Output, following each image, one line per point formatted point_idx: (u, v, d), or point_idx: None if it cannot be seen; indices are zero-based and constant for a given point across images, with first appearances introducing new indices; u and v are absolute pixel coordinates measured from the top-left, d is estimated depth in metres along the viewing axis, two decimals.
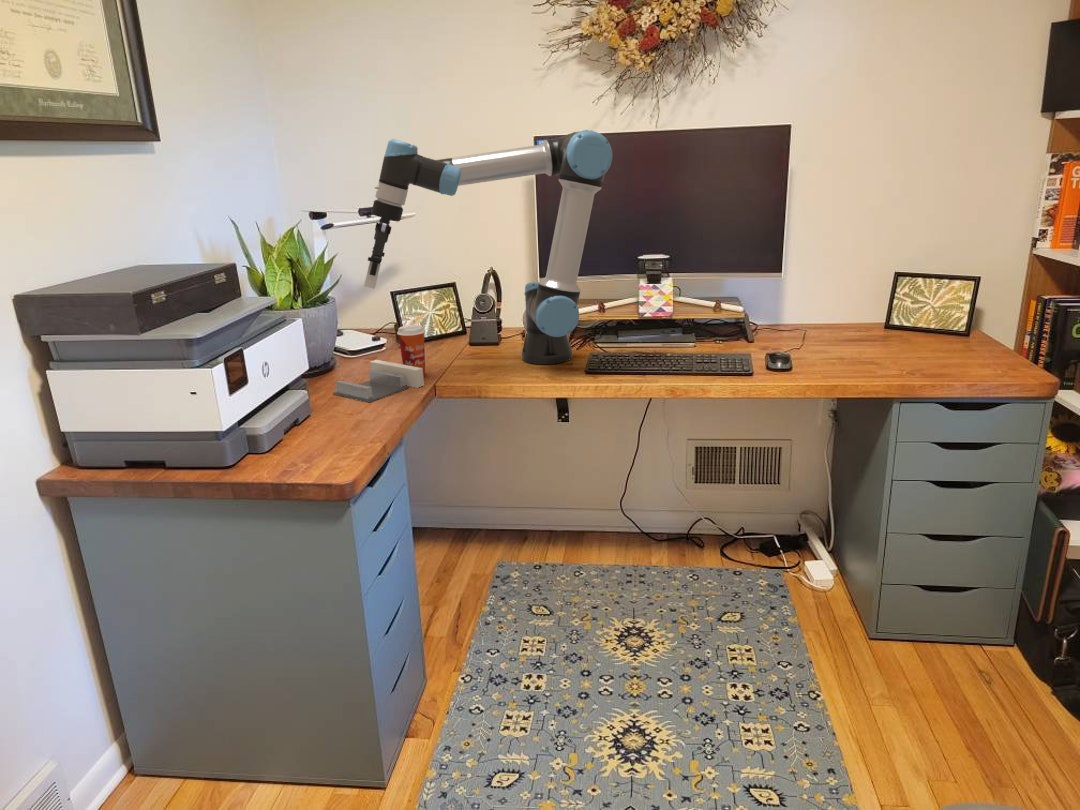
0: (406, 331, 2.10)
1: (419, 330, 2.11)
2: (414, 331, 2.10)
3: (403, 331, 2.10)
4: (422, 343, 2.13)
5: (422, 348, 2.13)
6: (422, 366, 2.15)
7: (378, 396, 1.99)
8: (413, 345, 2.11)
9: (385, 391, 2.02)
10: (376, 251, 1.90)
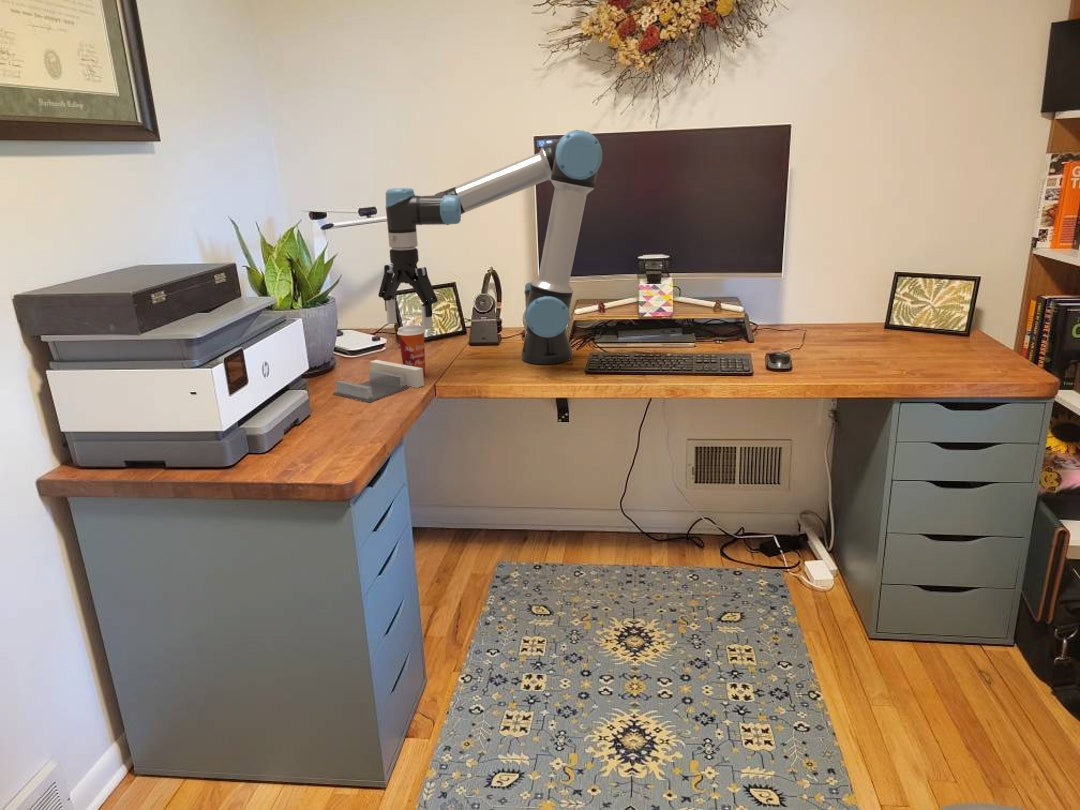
0: (406, 331, 2.10)
1: (419, 330, 2.11)
2: (414, 331, 2.10)
3: (403, 331, 2.10)
4: (422, 343, 2.13)
5: (422, 348, 2.13)
6: (422, 366, 2.15)
7: (378, 396, 1.99)
8: (413, 345, 2.11)
9: (385, 391, 2.02)
10: (431, 294, 2.04)
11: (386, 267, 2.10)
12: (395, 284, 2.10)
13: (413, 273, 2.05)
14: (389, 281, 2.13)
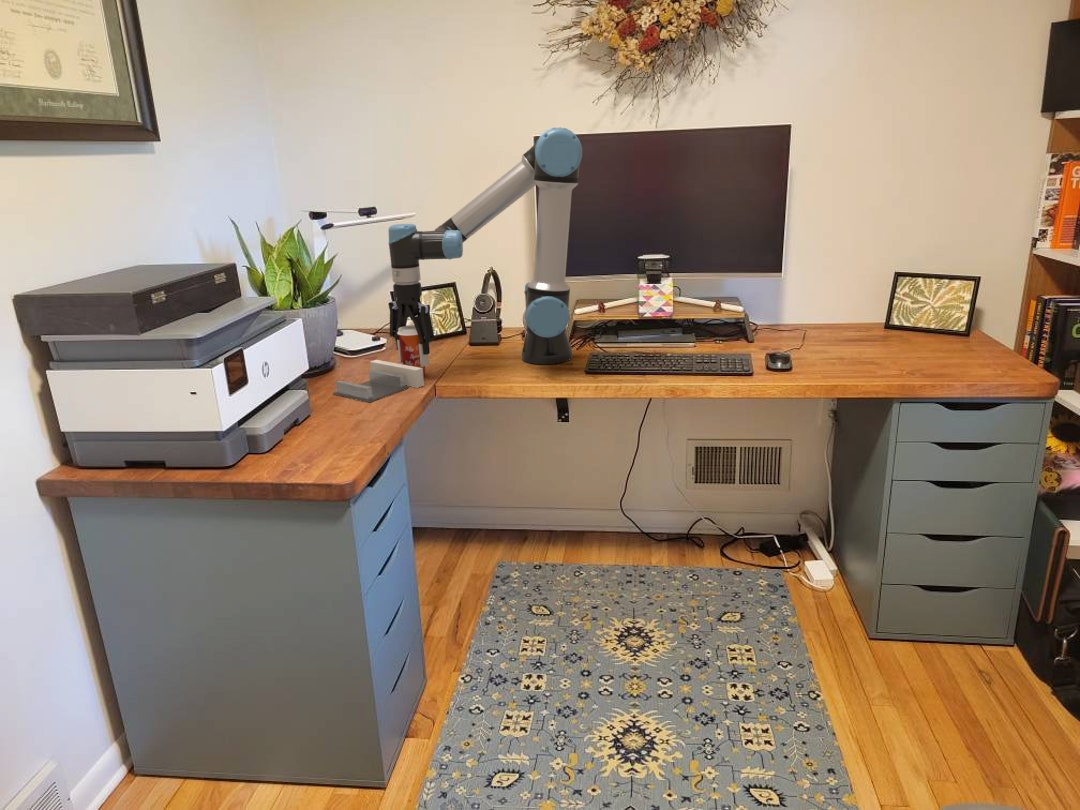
0: (406, 331, 2.10)
1: None
2: (414, 331, 2.10)
3: (403, 331, 2.10)
4: None
5: None
6: None
7: (378, 396, 1.99)
8: (413, 345, 2.11)
9: (385, 391, 2.02)
10: (429, 333, 2.09)
11: (390, 304, 2.13)
12: (402, 320, 2.13)
13: (416, 308, 2.08)
14: (396, 318, 2.15)
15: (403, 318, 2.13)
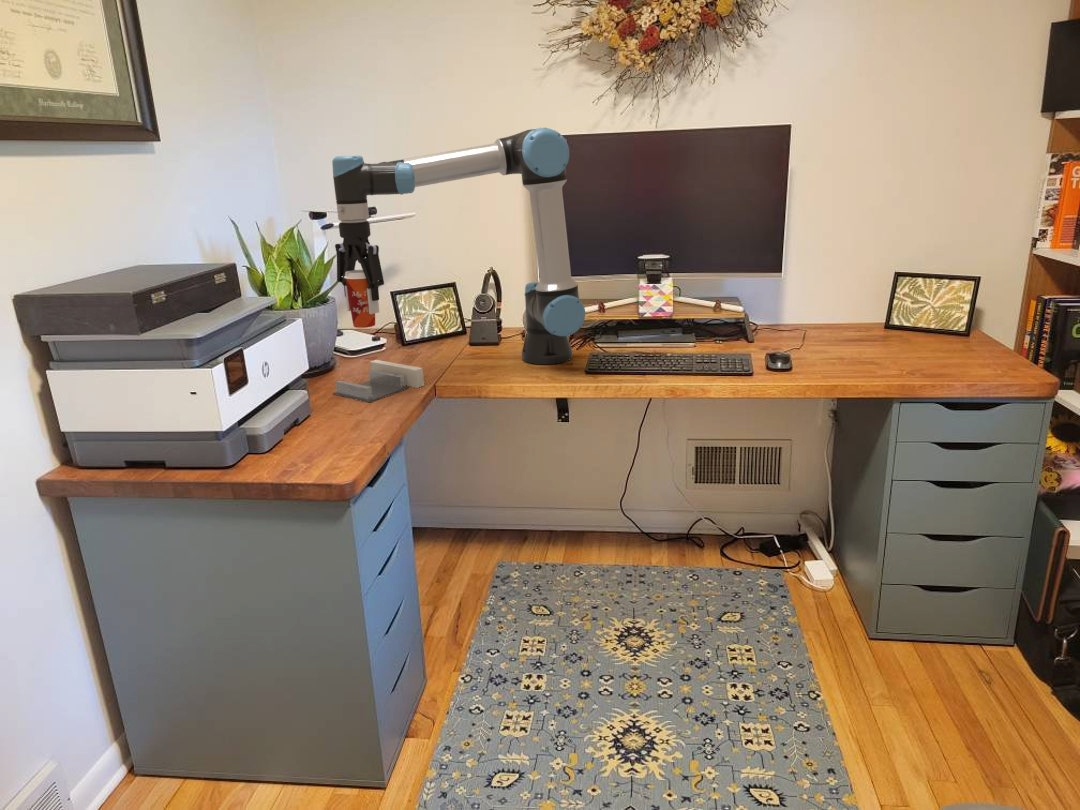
0: (353, 274, 1.92)
1: None
2: (362, 274, 1.92)
3: (350, 274, 1.92)
4: None
5: None
6: (371, 314, 1.97)
7: (378, 396, 1.99)
8: (361, 290, 1.93)
9: (385, 391, 2.02)
10: (378, 276, 1.91)
11: (337, 246, 1.95)
12: (350, 263, 1.95)
13: (363, 248, 1.90)
14: (344, 261, 1.98)
15: (351, 261, 1.95)
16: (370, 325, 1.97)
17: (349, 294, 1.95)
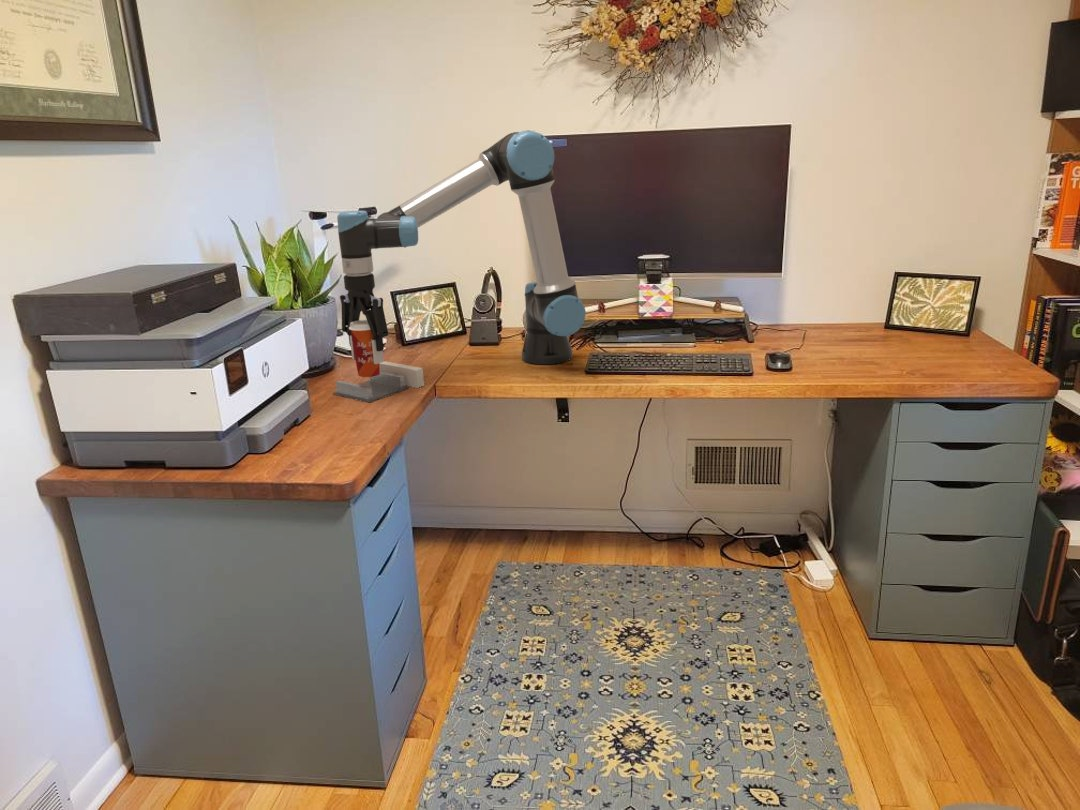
0: (358, 325, 1.95)
1: None
2: (366, 326, 1.96)
3: (355, 326, 1.96)
4: None
5: None
6: None
7: (378, 396, 1.99)
8: (366, 341, 1.97)
9: (385, 391, 2.02)
10: (382, 328, 1.95)
11: (342, 297, 1.99)
12: (354, 314, 1.99)
13: (368, 301, 1.94)
14: (348, 312, 2.01)
15: (355, 312, 1.99)
16: (375, 374, 2.01)
17: (354, 345, 1.98)
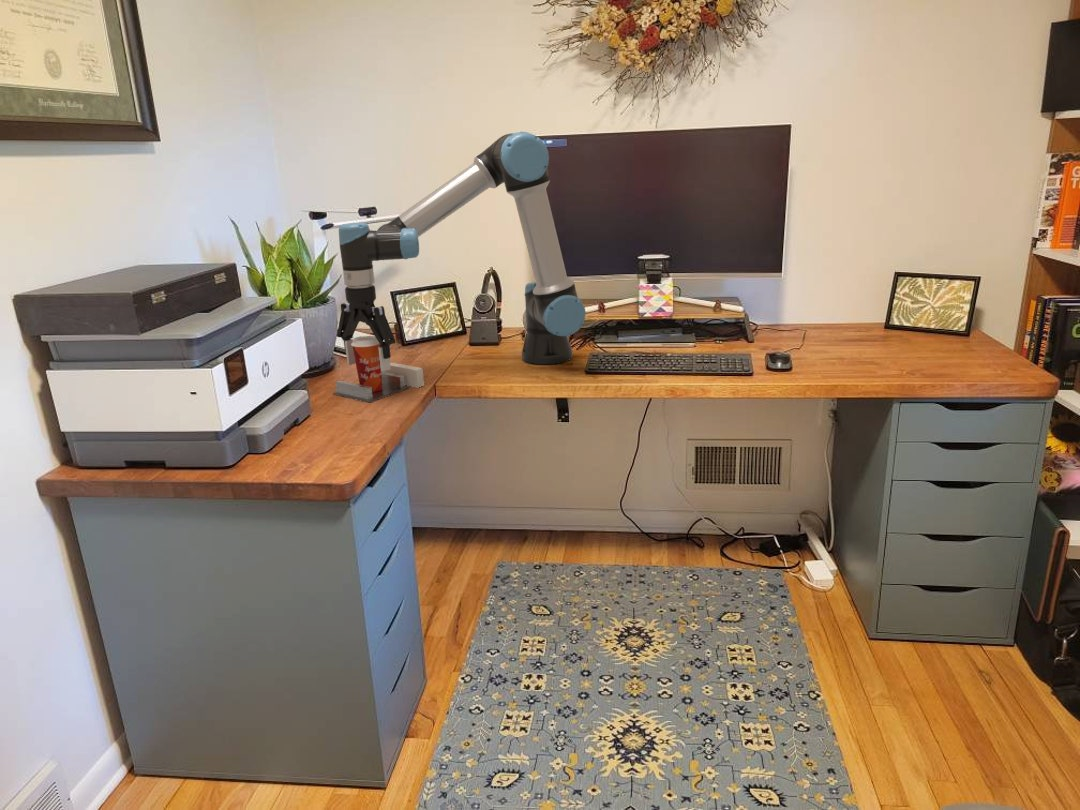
0: (360, 342, 1.97)
1: (374, 341, 1.98)
2: (369, 342, 1.97)
3: (357, 342, 1.97)
4: (378, 355, 2.00)
5: (378, 360, 2.00)
6: (378, 379, 2.02)
7: (378, 396, 1.99)
8: (368, 357, 1.98)
9: (385, 391, 2.02)
10: (388, 335, 1.94)
11: (343, 306, 2.00)
12: (353, 323, 2.00)
13: (370, 312, 1.95)
14: (347, 320, 2.03)
15: (354, 322, 2.00)
16: (377, 390, 2.02)
17: (356, 361, 2.00)
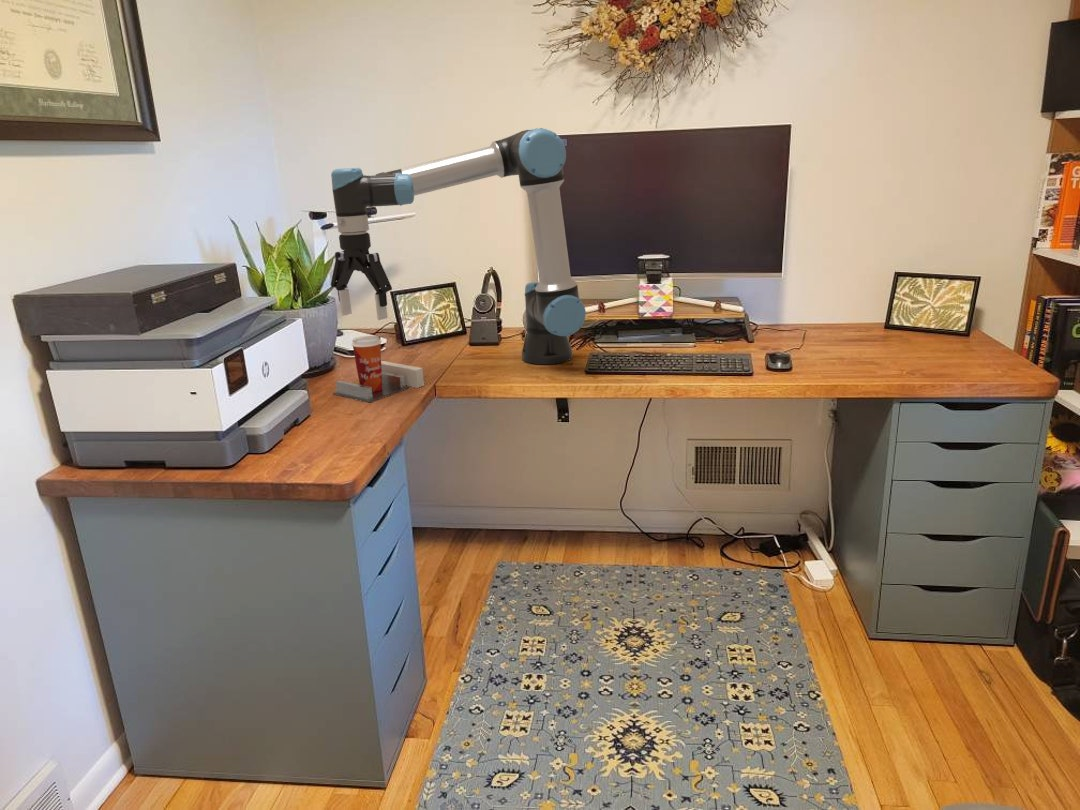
0: (361, 342, 1.97)
1: (374, 341, 1.98)
2: (369, 342, 1.97)
3: (357, 342, 1.97)
4: (378, 355, 2.00)
5: (378, 360, 2.00)
6: (378, 379, 2.02)
7: (378, 396, 1.99)
8: (368, 357, 1.98)
9: (385, 391, 2.02)
10: (384, 282, 1.90)
11: (337, 254, 1.96)
12: (347, 272, 1.96)
13: (365, 259, 1.91)
14: (341, 269, 1.98)
15: (348, 271, 1.96)
16: (377, 390, 2.02)
17: (356, 361, 2.00)
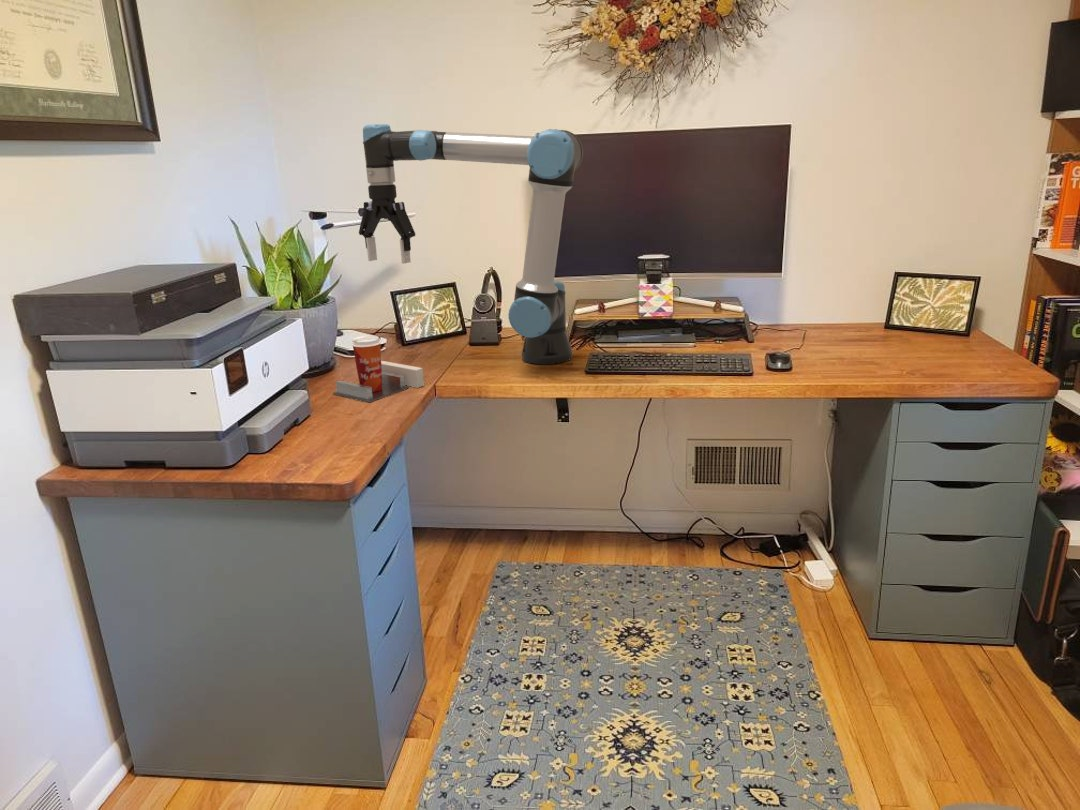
0: (361, 342, 1.97)
1: (374, 341, 1.98)
2: (369, 342, 1.97)
3: (357, 342, 1.97)
4: (378, 355, 2.00)
5: (378, 360, 2.00)
6: (378, 379, 2.02)
7: (378, 396, 1.99)
8: (368, 357, 1.98)
9: (385, 391, 2.02)
10: (408, 228, 2.10)
11: (365, 204, 2.16)
12: (374, 220, 2.16)
13: (391, 208, 2.11)
14: (368, 218, 2.19)
15: (376, 219, 2.16)
16: (377, 390, 2.02)
17: (356, 361, 2.00)
